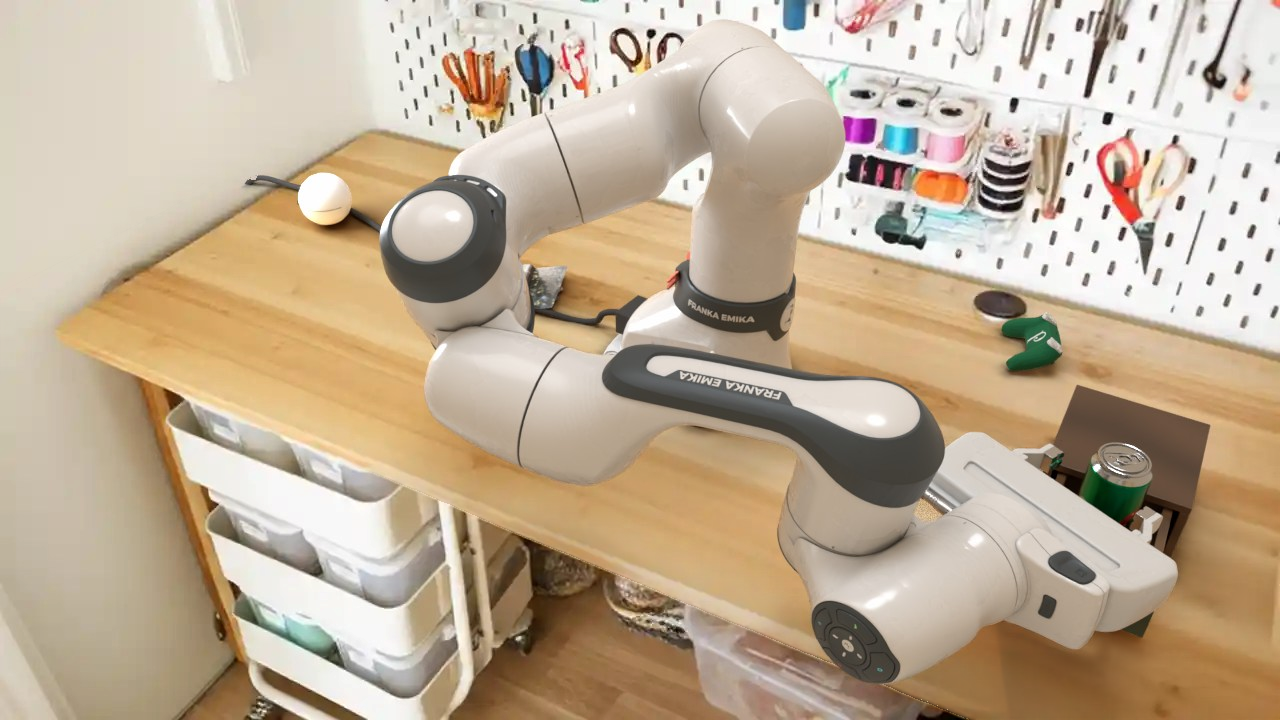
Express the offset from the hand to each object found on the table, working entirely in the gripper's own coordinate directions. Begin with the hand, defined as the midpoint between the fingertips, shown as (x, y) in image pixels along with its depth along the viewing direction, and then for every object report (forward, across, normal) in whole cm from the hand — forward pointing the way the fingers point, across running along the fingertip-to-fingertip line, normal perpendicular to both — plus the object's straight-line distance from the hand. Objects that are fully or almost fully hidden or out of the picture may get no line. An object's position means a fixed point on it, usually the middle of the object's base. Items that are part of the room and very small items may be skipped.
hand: (1103, 484), depth 88 cm
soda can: (+3, 0, -11) cm, 11 cm away
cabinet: (+12, -4, -12) cm, 18 cm away
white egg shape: (-31, -102, -13) cm, 108 cm away
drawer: (+1, +1, -12) cm, 12 cm away
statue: (-16, -72, -13) cm, 74 cm away
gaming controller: (+27, -26, -13) cm, 39 cm away
